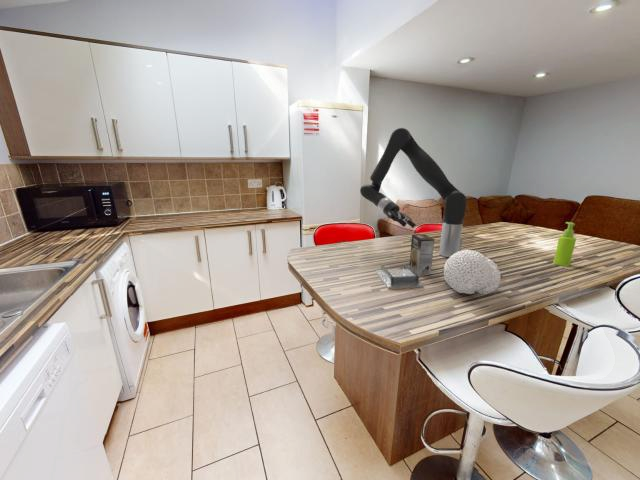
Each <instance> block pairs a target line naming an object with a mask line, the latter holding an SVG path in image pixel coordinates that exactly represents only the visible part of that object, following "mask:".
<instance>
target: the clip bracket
mask: <svg viewBox="0 0 640 480" xmlns="http://www.w3.org/2000/svg"><path fill="white" fill-rule="evenodd" d="M375 274H376V275H377V276H378V278H379V279H380V281H382V283H383V284H384V286H385V287H386V288H387V290H395V289H396V290H398V289H414V288H415V289H418V288H419V289H421V288H424V284H423V283H422V282H421V281H420V279H419V278H420V277H419V276H420V275H417V274H416V273H415V272H414V271H413V270H412V269H410V268H409V266H408V265H406V264H403V267H402V269H401V268H400V269H399V268H397V269H387V268H386V267H385V266H384V265H381V267H380V269H375Z"/></svg>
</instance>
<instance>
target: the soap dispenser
mask: <svg viewBox="0 0 640 480" xmlns="http://www.w3.org/2000/svg"><path fill="white" fill-rule="evenodd" d="M565 224H567V228H566V229H564V230H563V235H560V236H558V241H557V245H556V250H555V254H554V257H553V264H554V265H555V266H560V267H570V264H571V261H572V257H573V253H574V248H575V246H576V245H575V244H576V240H577V238H575V237H574V233H575V229H573V228H574V226H576V223H574V222H573V221H569V222H568V221H566V222H565Z"/></svg>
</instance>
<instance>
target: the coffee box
mask: <svg viewBox="0 0 640 480" xmlns="http://www.w3.org/2000/svg"><path fill="white" fill-rule="evenodd" d="M435 240H436V239H435V238H432V237H431V236H429V235H427V234H424V233H422V234H420V233H417V234H416V233H412V234H411V245H410V255H409V257H410V258H409V266H408V267H409V268H410V269H411V270H412V271H413V272H414V273H415V274H417V275H418V276H425V275H426V276H428V275H431V272H432V265H433V264H432V263H433V257H434V248H435Z"/></svg>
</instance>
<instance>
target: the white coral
mask: <svg viewBox="0 0 640 480" xmlns="http://www.w3.org/2000/svg"><path fill="white" fill-rule="evenodd" d="M498 267H499V266H498V265H497V263H495V261H493V260H492V259H490V258H488V257H486V256H485V255H483V253H480V252H479V251H476V250H473V249H471V250H470V249H466V250H462V249H461V251H459V252H457V253H454V254H453V255H452V256H451V257H448V259H446V261H445V264H444V265H443V277H444V280H445V281H446V283H447V285H449V287H450V288H452V289H453V290H454V291H456V292H457V293H459V294H467V295H472V294H475V293H479V294H480V295H482V296H486V295H487V294H490V293H493V292H495V291H496V290H497V289H498V288H499V283H500V282H501V274H502V272H501V270H499V268H498Z"/></svg>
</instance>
